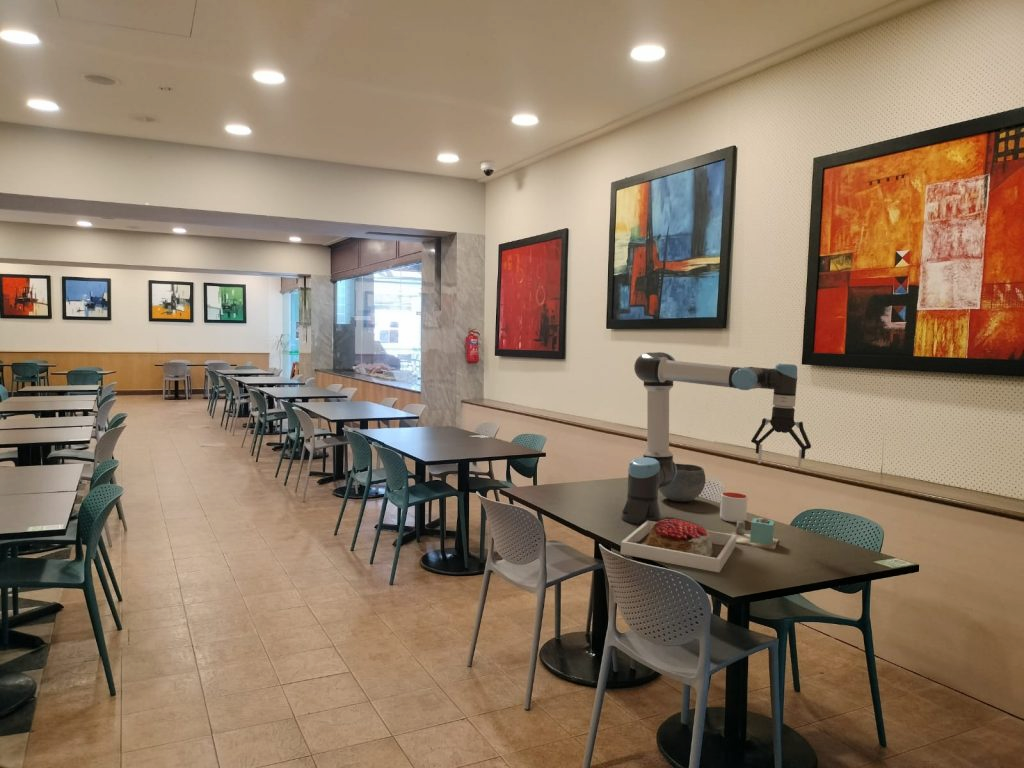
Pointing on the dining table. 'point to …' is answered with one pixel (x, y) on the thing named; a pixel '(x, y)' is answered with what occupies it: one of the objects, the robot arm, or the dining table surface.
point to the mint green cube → (762, 532)
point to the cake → (680, 537)
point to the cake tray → (678, 556)
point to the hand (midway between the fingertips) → (779, 465)
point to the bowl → (685, 483)
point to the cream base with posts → (745, 538)
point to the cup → (733, 507)
